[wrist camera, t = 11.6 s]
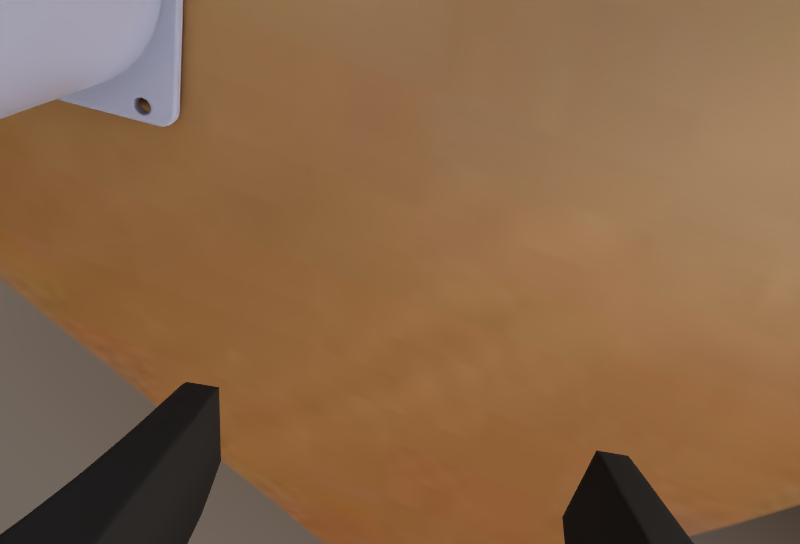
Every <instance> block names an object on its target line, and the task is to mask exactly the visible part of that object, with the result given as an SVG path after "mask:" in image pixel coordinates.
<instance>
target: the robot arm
mask: <svg viewBox="0 0 800 544" xmlns="http://www.w3.org/2000/svg"><path fill="white" fill-rule="evenodd" d="M182 21H183V0H0V119H2V118H5V117H7V116H10V115H13V114H16V113H19V112H21V111H24V110H27V109H30V108H33V107H35V106H38V105H41V104H44V103H47V102H49V101H52V100H55V99H57V100H61V101H65V102H69V103H72V104H76V105H80V106H84V107H88V108H92V109H95V110H99V111H103V112H107V113H111V114H114V115H118V116H122V117H126V118H130V119H134V120H137V121H141V122H145V123H149V124H153V125H156V126H164V127H165V126H168V125H171V124H172V123H174V122H175V121H176V120H177V119H178V117H179V113H180V86H181V53H182ZM140 98H144V99H146V100H147V101H148V103H149V104H150V107H151V110H150V112H148V111H146V110H144V109H143V108H142V107H141V105H140ZM220 462H221V450H220V411H219V387H213V386H207V385H201V384H195V383H189V382H186V383H184V384H183V385H181V386H180V387H179V388H178V389H177V390H176V391H174V392H173V393H172V394H171V395H170V396H169V397H168V398H167V399H166V400H165V401H164V402H162V403H161V404H160V405H159V406H158V407H157V408H156V409H155V410H154V411H153V412H152V413H150V414H149V415H148V416H147V417H146V418H145V419H144V420H143V421H142V422H140V423H139V424H138V425H137V426H136V427H135V428H134V429H132V430H131V431H130V432H129V433H128V434H127V435H126V436H125V437H123V438H122V439H121V440H120V441H119V442H117V443H116V444H115V445H114V446H113V447H111V448H110V449H109V450H108V451H107V452H106V453H104V454H103V455H102V456H101V457H100V458H98V459H97V460H96V461H95V462H94V463H92V464H91V465H90V466H89V467H88V468H87V469H85V470H84V471H83V472H82V473H80V474H79V475H78V476H77V477H76V478H74V479H73V480H72V481H71V482H69V483H68V484H67V485H65V486H64V487H63V488H61V489H60V490H59V491H58V492H56V493H55V494H54V495H52V496H51V497H50V498H48V499H47V500H46V501H45V502H43V503H42V504H41V505H40V506H38V507H37V508H36V509H34V510H33V511H32V512H30V513H29V514H28V515H27V516H25V517H24V518H22V519H21V520H20V521H19V522H17V523H16V524H14V525H13V526H12V527H10V528H9V529H7V530H6V531H5V532H3V533H2V534H0V544H187V543H188V541H189V539H190V537H191V535H192V533H193V531H194V529H195V527H196V525H197V522H198V520H199V518H200V516H201V514H202V511H203V509H204V506H205V503H206V501H207V498H208V495H209V493H210V490H211V487H212V484H213V481H214V479H215V476H216V473H217V470H218V467H219V464H220ZM563 527H564V539H565V544H694V543H693V542H692V541H691V539H690V538H689V537H688V535H687V534H686V533H685V531H684V530H683V529H682V527H681V526H680V525H679V523H678V522H677V521H676V519H675V518H674V517H673V515H672V514H671V513H670V511H669V510H668V509H667V507H666V506H665V505H664V503H663V502H662V500H661V499H660V498H659V496H658V495H657V494H656V492H655V491H654V490H653V488H652V487H651V486H650V484H649V483H648V481H647V480H646V479H645V477H644V476H643V475H642V473H641V472H640V471H639V469H638V468H637V467H636V465H635V464H634V463H633V462H632V460H631V459H630V458H629V456H625V455H619V454H613V453H607V452H601V451H596V453H595V455H594V457H593V459H592V461H591V463H590V465H589V466H588V468H587V470H586V472H585V474H584V476H583V478H582V480H581V482H580V484H579V486H578V488H577V490H576V492H575V494H574V496H573V498H572V500H571V502H570V504H569V505H568V507H567V509H566V511H565V513H564V515H563Z"/></svg>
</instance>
